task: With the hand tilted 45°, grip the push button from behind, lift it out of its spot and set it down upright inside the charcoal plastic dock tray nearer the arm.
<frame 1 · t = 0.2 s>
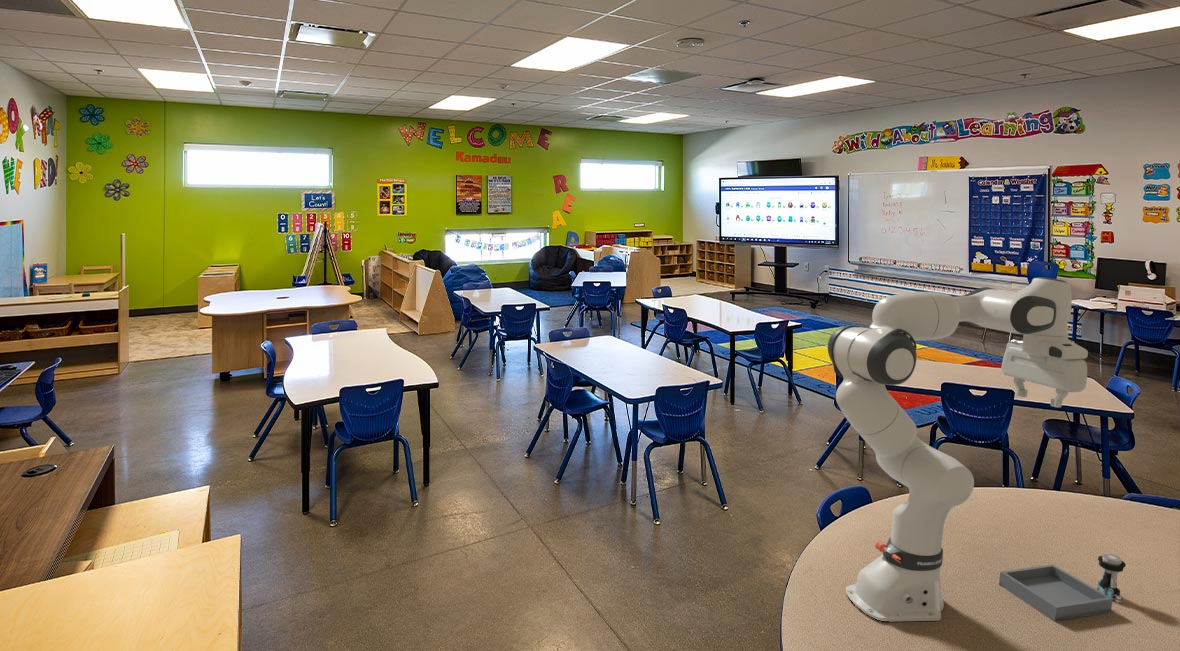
hand: (1038, 401, 163), 48 cm above the table, tool pointing down, fingers open, 8 cm apart
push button: (1108, 597, 165), on the table
dock tray: (1052, 597, 164), on the table
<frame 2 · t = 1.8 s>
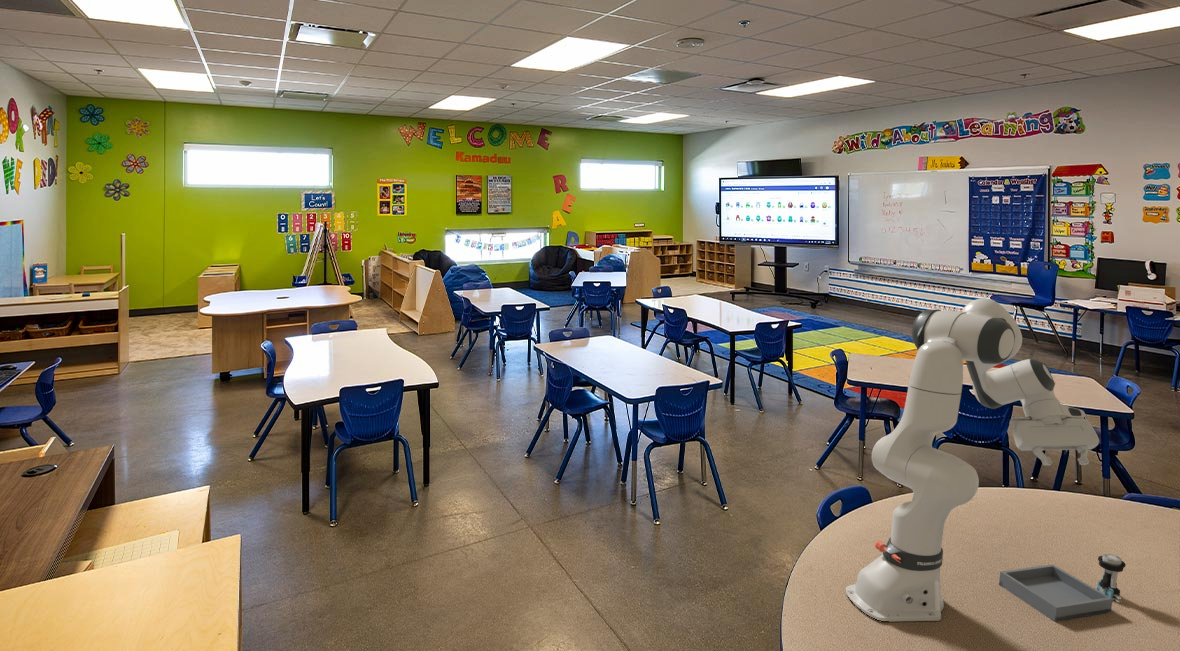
hand: (1066, 464, 175), 28 cm above the table, tool tilted 45°, fingers open, 8 cm apart
nothing on the table moved.
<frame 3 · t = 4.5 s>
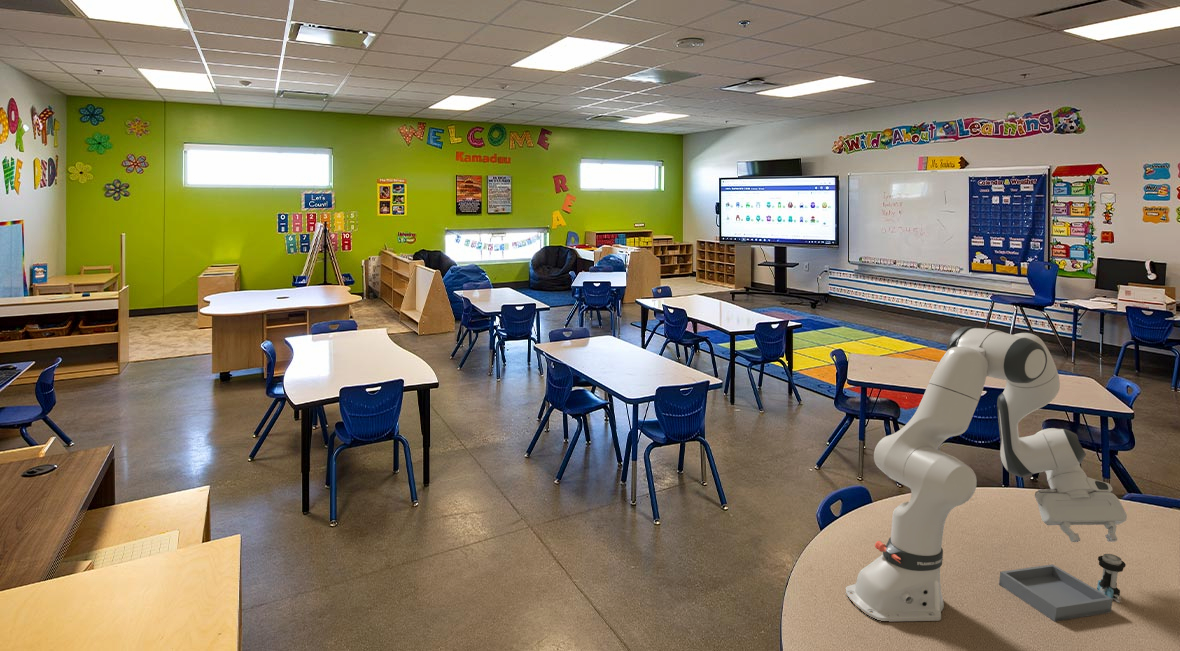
hand: (1094, 541, 170), 11 cm above the table, tool tilted 45°, fingers open, 8 cm apart
nothing on the table moved.
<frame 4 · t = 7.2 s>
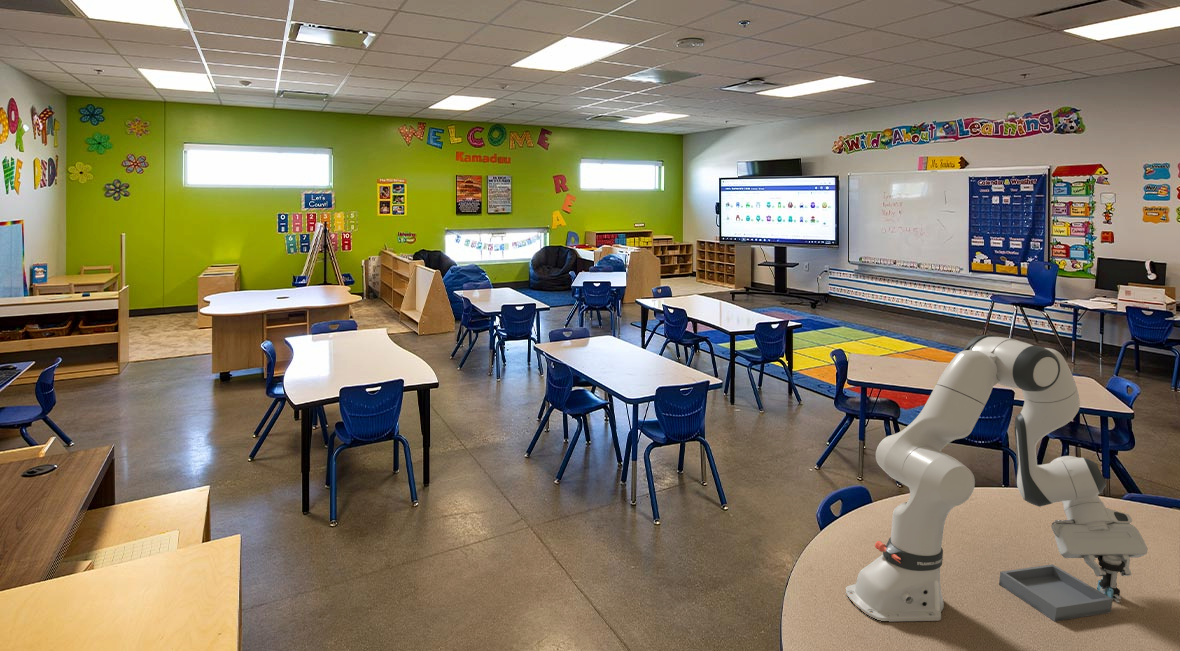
hand: (1114, 575, 163), 6 cm above the table, tool tilted 45°, fingers closed on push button, 5 cm apart
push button: (1108, 597, 165), on the table, touching gripper
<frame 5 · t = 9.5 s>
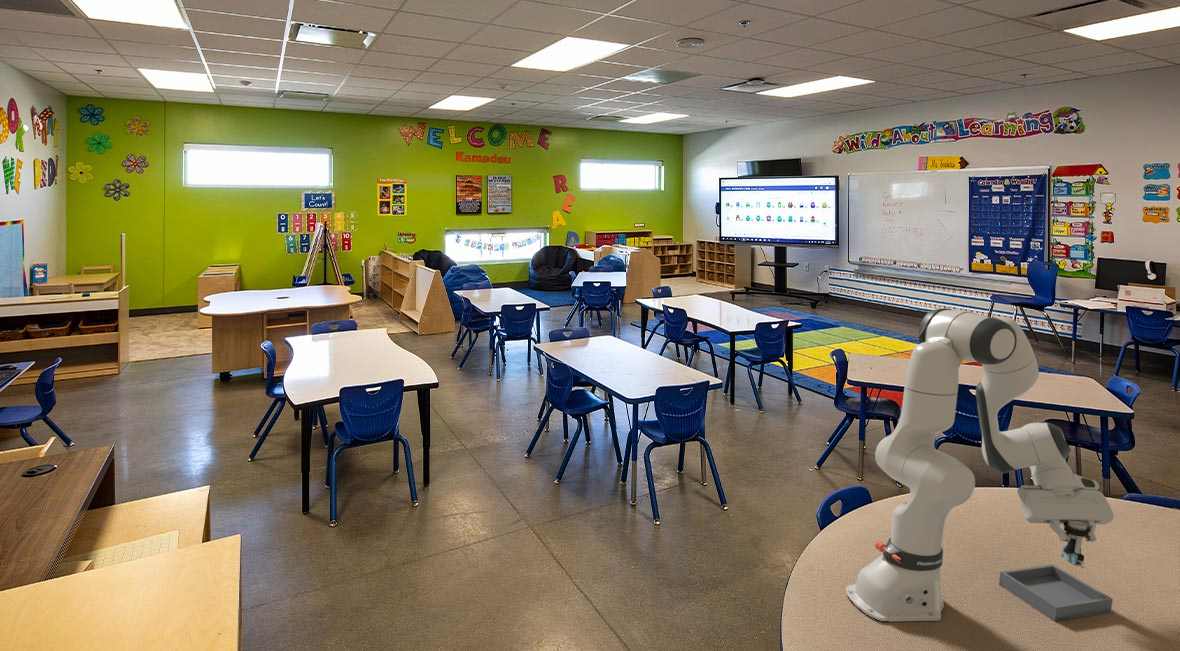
hand: (1078, 540, 161), 15 cm above the table, tool tilted 45°, fingers closed on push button, 5 cm apart
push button: (1072, 563, 163), point 9 cm above the table, touching gripper
when the fingers open (8 cm above the table, at t = 11.8 s): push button drops 1 cm, resting on dock tray.
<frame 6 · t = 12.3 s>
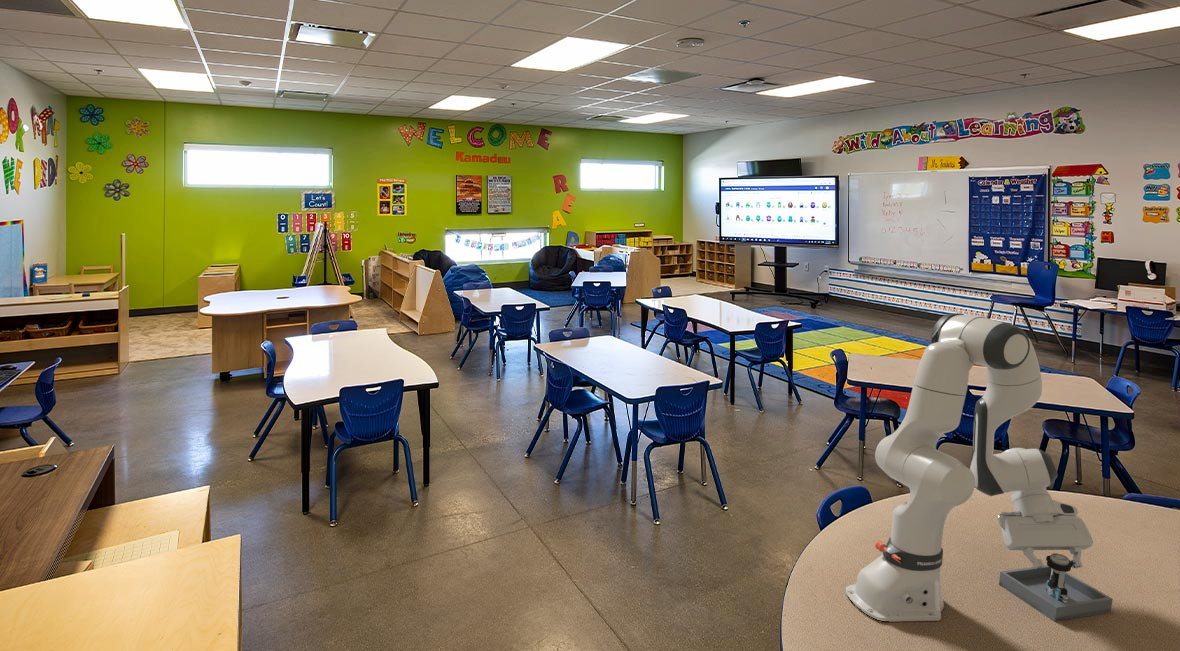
hand: (1058, 567, 162), 8 cm above the table, tool tilted 45°, fingers open, 8 cm apart
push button: (1056, 597, 163), point 1 cm above the table, touching dock tray
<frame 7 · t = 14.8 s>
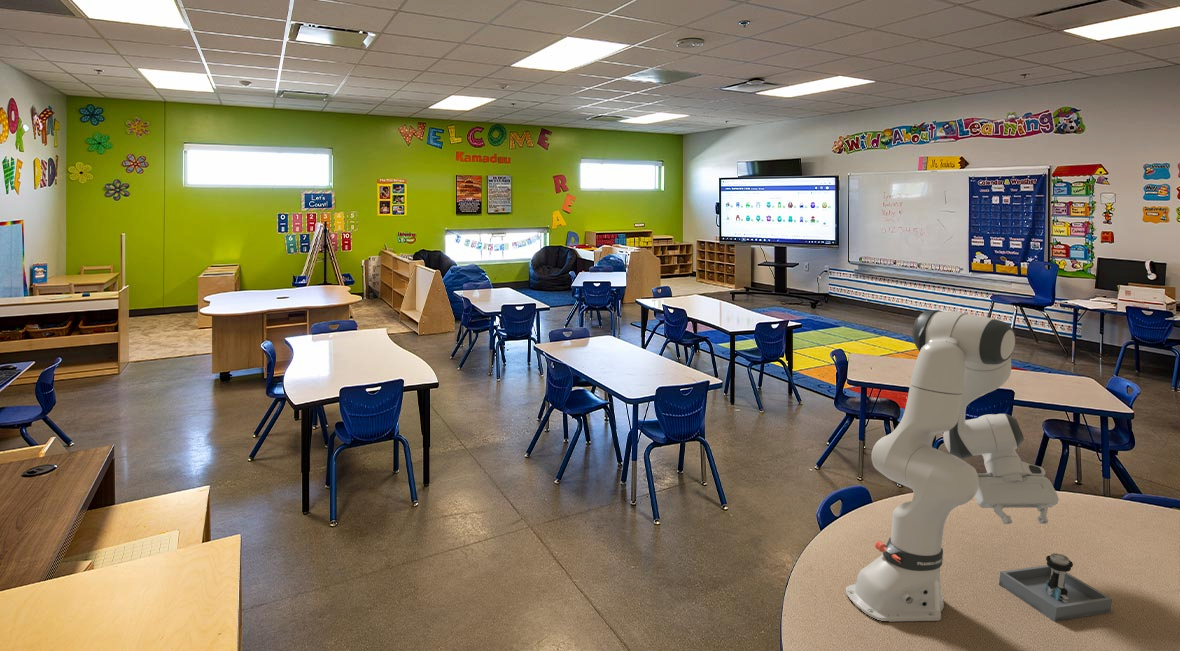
hand: (1026, 523, 174), 13 cm above the table, tool tilted 45°, fingers open, 8 cm apart
nothing on the table moved.
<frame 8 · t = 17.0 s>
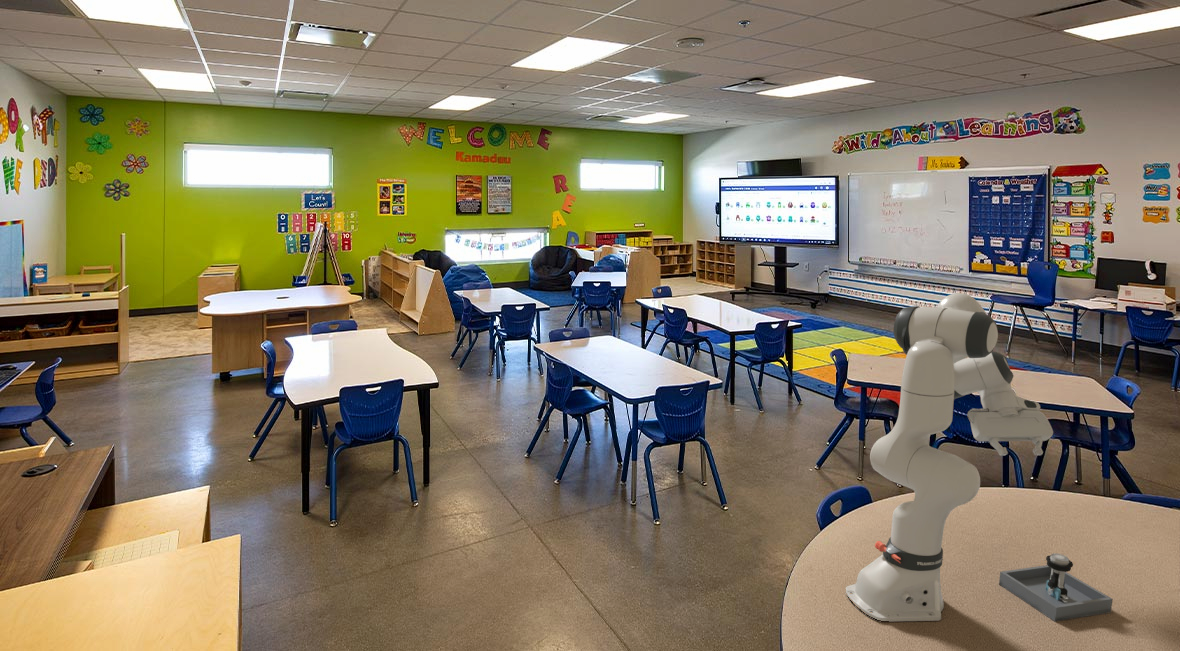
hand: (1021, 454, 179), 29 cm above the table, tool tilted 45°, fingers open, 8 cm apart
nothing on the table moved.
at the end: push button inside the target area on the dock tray (1.0 cm from its centre), point 0.8 cm above the dock tray's base; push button tilted 0°; the gripper is holding nothing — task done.
